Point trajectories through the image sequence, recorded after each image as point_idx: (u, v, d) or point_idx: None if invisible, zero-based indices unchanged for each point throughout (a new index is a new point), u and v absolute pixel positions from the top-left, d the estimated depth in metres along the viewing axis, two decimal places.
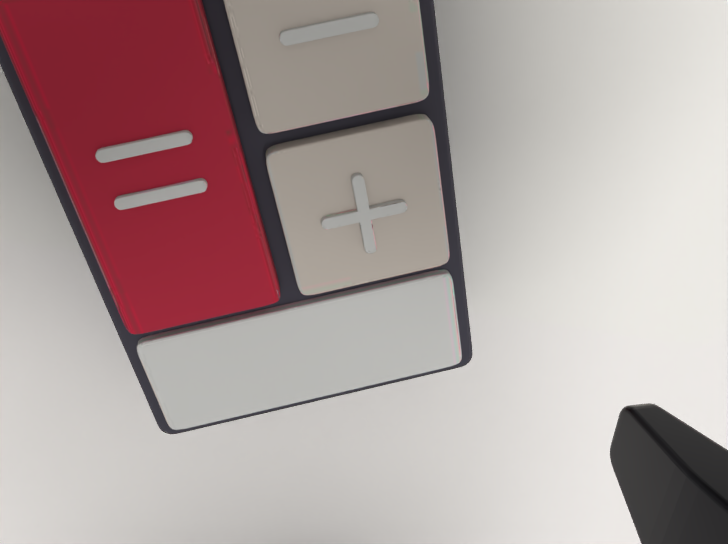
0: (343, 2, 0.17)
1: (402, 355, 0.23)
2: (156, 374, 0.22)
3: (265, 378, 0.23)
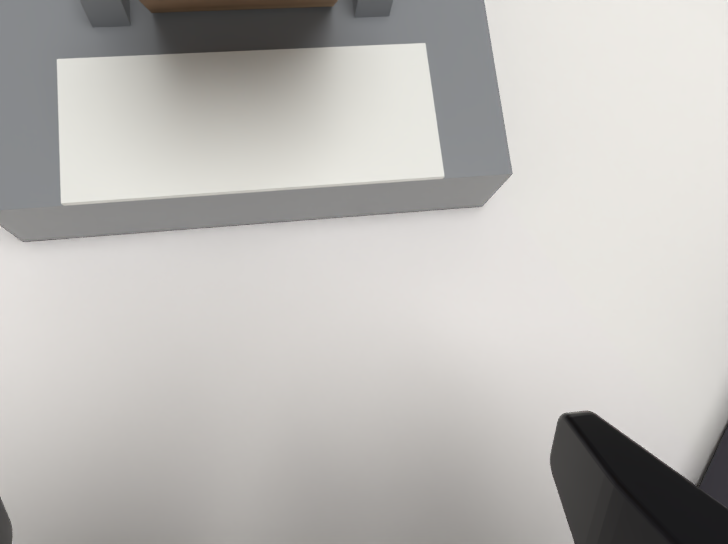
0: None
1: None
2: None
3: None
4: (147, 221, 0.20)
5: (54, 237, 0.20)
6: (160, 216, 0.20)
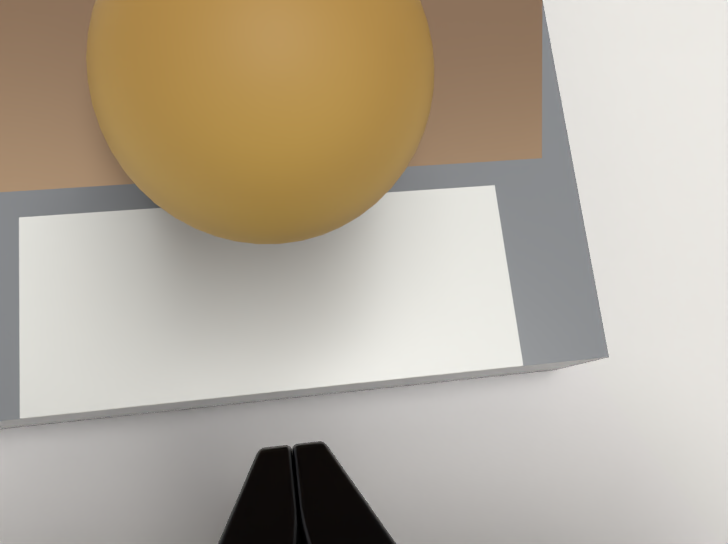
0: None
1: None
2: None
3: None
4: (137, 411, 0.15)
5: (18, 426, 0.16)
6: (153, 409, 0.15)
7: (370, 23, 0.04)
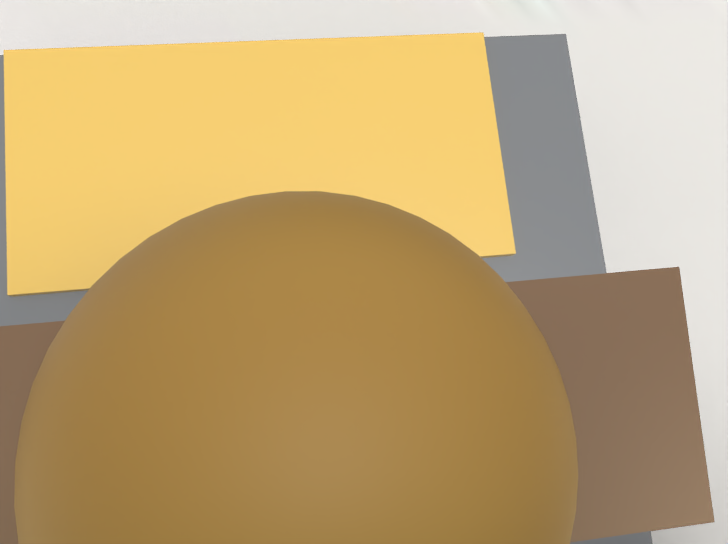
0: None
1: None
2: None
3: None
4: None
5: None
6: None
7: (496, 414, 0.03)
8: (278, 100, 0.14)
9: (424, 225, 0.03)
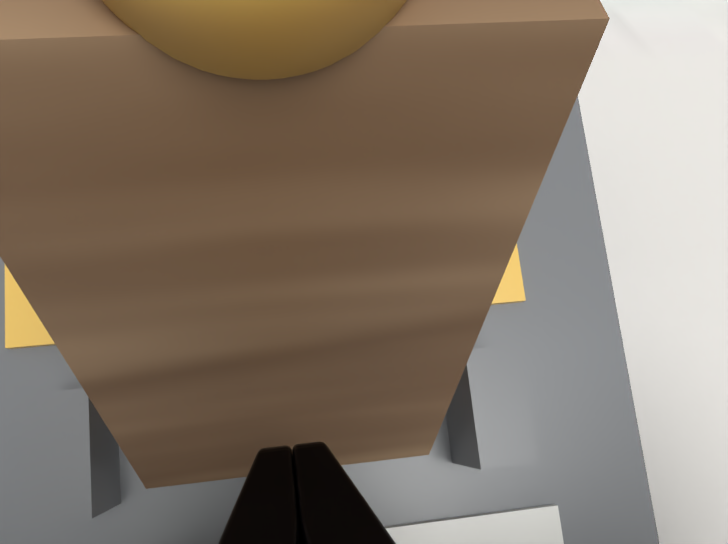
0: None
1: None
2: None
3: None
4: None
5: None
6: None
7: None
8: None
9: None
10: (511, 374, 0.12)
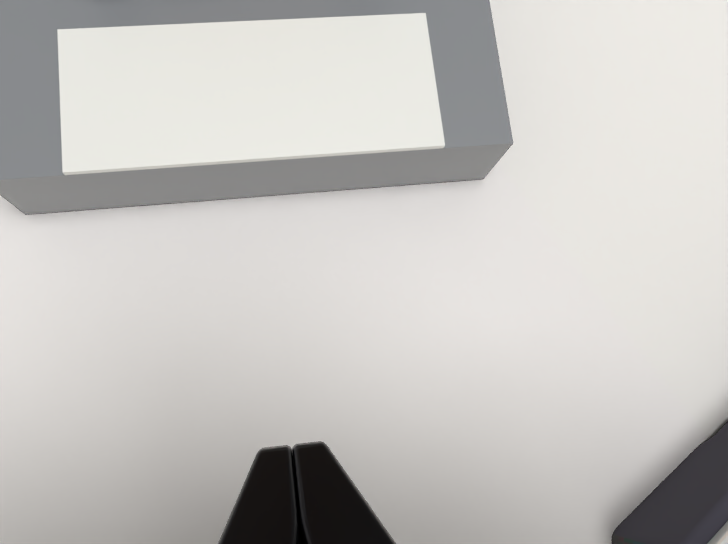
0: None
1: None
2: None
3: None
4: (149, 193, 0.20)
5: (56, 210, 0.20)
6: (161, 187, 0.20)
7: None
8: None
9: None
10: None
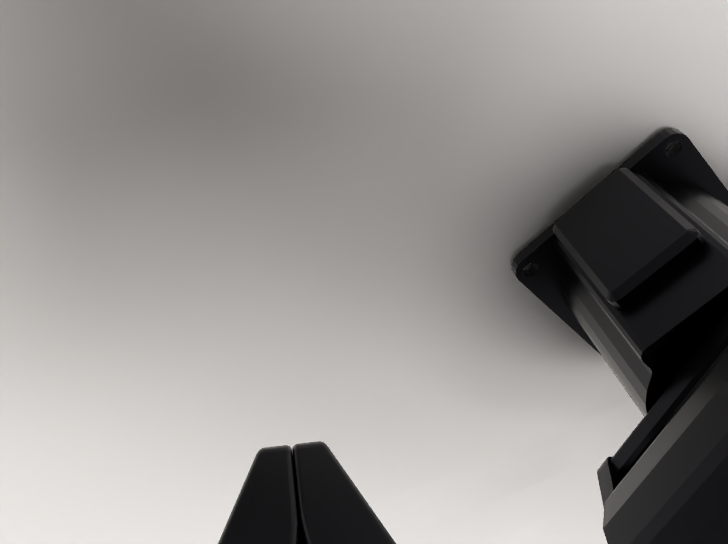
0: None
1: None
2: None
3: None
4: None
5: None
6: None
7: None
8: None
9: None
10: None
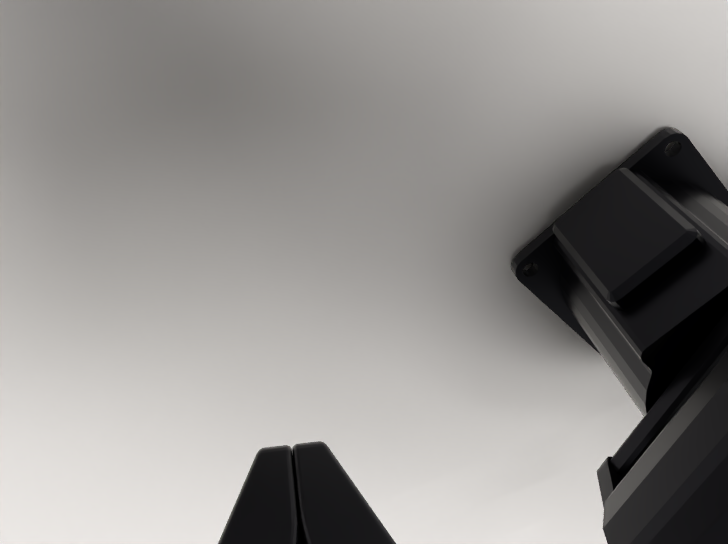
0: None
1: None
2: None
3: None
4: None
5: None
6: None
7: None
8: None
9: None
10: None
